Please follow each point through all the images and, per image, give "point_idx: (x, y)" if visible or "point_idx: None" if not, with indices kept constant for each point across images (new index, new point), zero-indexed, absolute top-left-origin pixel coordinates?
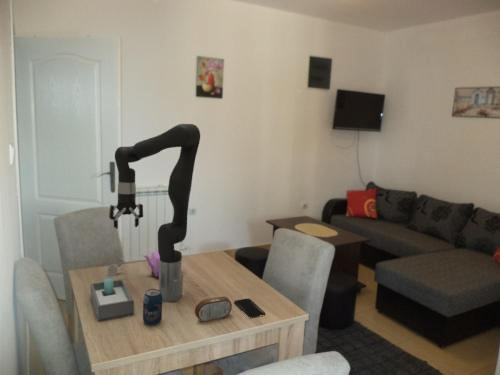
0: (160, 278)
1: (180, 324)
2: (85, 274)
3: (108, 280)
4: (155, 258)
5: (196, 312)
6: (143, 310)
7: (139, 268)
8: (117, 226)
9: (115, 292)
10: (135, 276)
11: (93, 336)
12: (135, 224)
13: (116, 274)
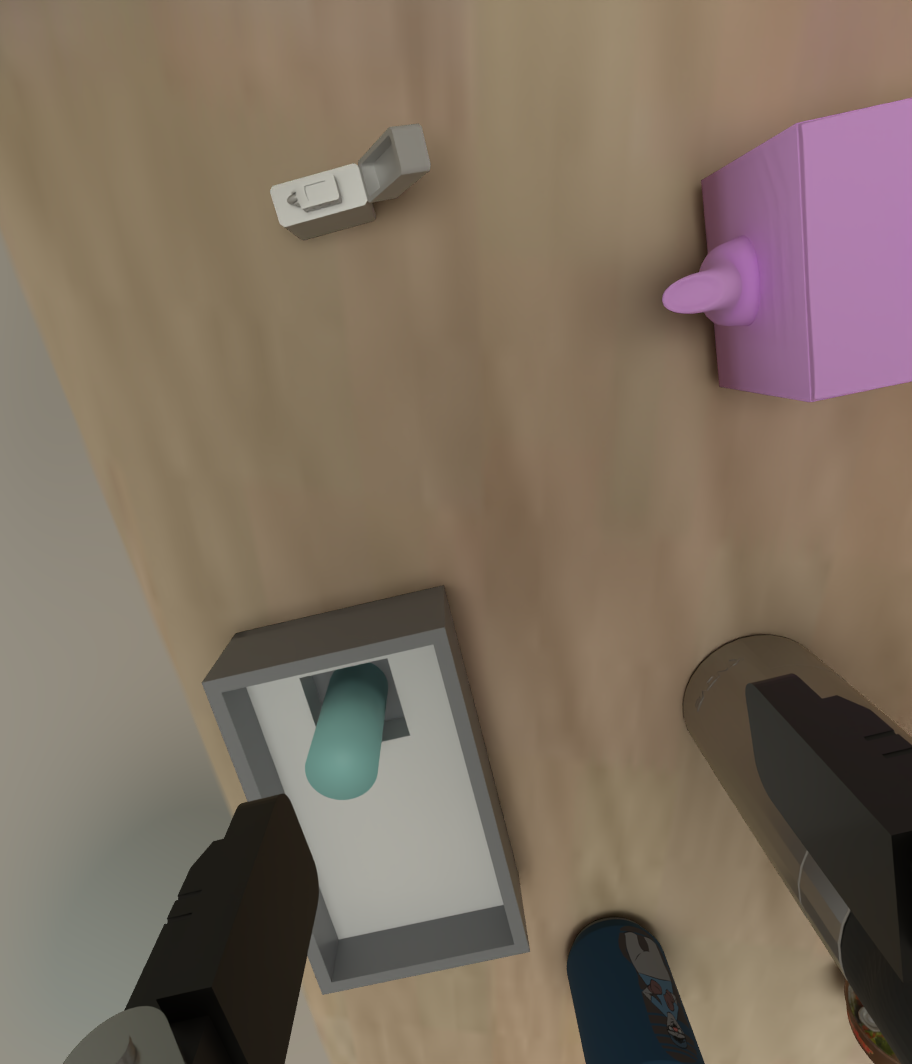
0: (754, 834)
1: (744, 982)
2: (80, 158)
3: (340, 785)
4: (804, 364)
5: (857, 1037)
6: (579, 1032)
7: (588, 51)
8: (303, 934)
9: (401, 702)
10: (542, 279)
11: (337, 1023)
12: (787, 794)
13: (371, 219)
